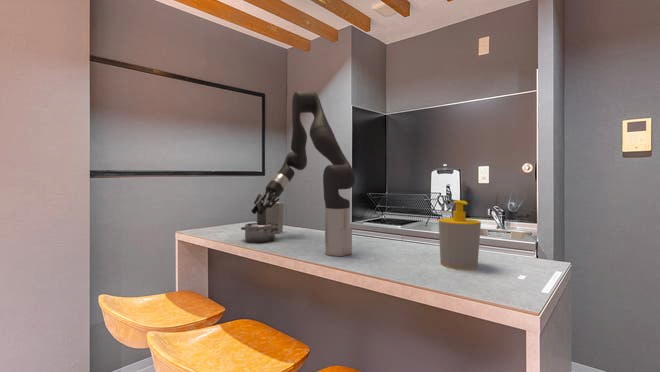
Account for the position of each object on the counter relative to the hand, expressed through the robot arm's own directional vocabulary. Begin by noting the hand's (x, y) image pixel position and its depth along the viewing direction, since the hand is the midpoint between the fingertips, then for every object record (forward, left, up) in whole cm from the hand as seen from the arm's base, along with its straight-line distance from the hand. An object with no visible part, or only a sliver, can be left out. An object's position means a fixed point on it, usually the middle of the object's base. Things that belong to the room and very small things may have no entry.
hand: (256, 213), depth 152 cm
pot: (0, -2, -13) cm, 13 cm away
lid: (0, -3, -7) cm, 7 cm away
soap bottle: (-82, -22, -13) cm, 86 cm away
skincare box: (+12, -19, -13) cm, 26 cm away
